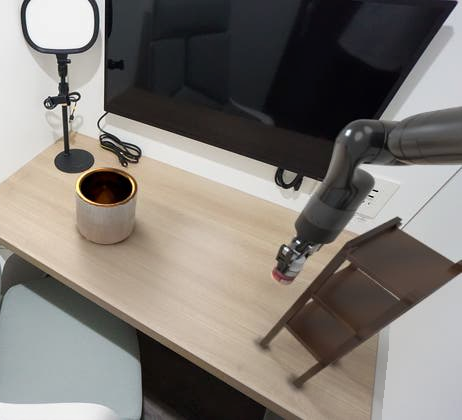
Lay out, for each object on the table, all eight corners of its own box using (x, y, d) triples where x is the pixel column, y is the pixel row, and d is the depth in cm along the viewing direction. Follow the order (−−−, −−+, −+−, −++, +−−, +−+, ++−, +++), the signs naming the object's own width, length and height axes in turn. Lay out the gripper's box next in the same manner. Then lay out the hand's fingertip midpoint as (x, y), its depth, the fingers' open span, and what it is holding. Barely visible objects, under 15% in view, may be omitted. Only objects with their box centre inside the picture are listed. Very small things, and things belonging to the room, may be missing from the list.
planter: (143, 217, 100) (149, 178, 89) (116, 255, 89) (119, 216, 78) (95, 198, 107) (95, 160, 96) (65, 231, 96) (61, 192, 85)
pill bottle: (276, 266, 79) (290, 245, 73) (295, 278, 76) (311, 257, 70) (266, 276, 77) (280, 255, 71) (286, 289, 74) (302, 268, 68)
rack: (336, 361, 68) (476, 262, 43) (296, 388, 64) (424, 296, 39) (296, 321, 74) (397, 216, 49) (258, 343, 71) (346, 241, 46)
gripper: (317, 240, 57) (279, 291, 69) (367, 216, 62) (324, 268, 73) (283, 214, 62) (253, 266, 74) (331, 194, 67) (296, 246, 78)
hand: (288, 267), depth 74 cm, fingers closed on pill bottle, 4 cm apart
